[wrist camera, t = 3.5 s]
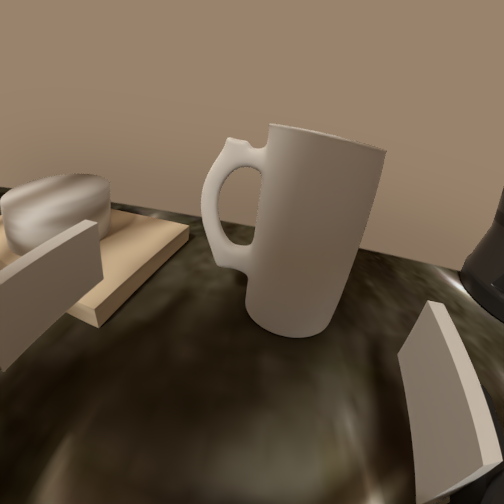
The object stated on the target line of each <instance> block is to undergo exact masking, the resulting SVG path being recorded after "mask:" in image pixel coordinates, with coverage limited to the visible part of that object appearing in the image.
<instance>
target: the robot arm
mask: <svg viewBox="0 0 504 504" xmlns="http://www.w3.org/2000/svg"><path fill="white" fill-rule="evenodd" d="M103 279H104V276H103V268H102V260H101V251H100V241H99V230H98V223H97V222H93V221H89V220H84V221H82V222H80V223H78V224H76V225H74V226H73V227H71V228H69V229H67V230H65V231H64V232H62V233H60V234H58V235H57V236H55V237H53V238H51V239H50V240H48V241H46V242H45V243H43V244H41V245H40V246H38V247H36V248H35V249H33V250H31V251H30V252H28V253H27V254H25V255H23V256H22V257H20V258H19V259H17V260H16V261H14V262H12V263H11V264H9V265H8V266H6V267H5V268H3V269H2V270H0V369H1V370H2V371H3V372H5V371H6V369H7V368H8V367H9V366H10V365H11V364H12V363H13V362H14V361H15V360H16V359H17V358H18V357H19V356H20V355H21V354H22V353H23V352H24V351H25V350H26V349H27V348H28V347H29V346H30V345H31V344H32V343H33V342H34V341H35V340H36V339H37V338H38V337H39V336H41V335H42V334H43V333H44V332H45V331H46V330H47V329H48V328H49V327H50V326H51V325H52V324H53V323H54V322H55V321H57V320H58V319H59V318H60V317H61V316H62V315H63V314H64V313H65V312H66V311H67V310H69V309H70V308H71V307H72V306H73V305H74V304H75V303H76V302H78V301H79V300H80V299H81V298H82V297H83V296H84V295H86V294H87V293H88V292H89V291H90V290H91V289H93V288H94V287H95V286H96V285H97V284H98V283H100V282H101V281H102V280H103ZM460 279H461V281H462V283H463V285H464V286H465V288H466V289H467V290H468V292H469V293H470V294H471V295H472V296H473V297H474V298H475V299H476V300H477V301H478V302H479V303H480V304H481V305H482V306H483V307H484V308H485V309H487V310H488V311H489V312H490V313H492V314H493V315H494V316H496V317H497V318H498V319H500V320H501V321H503V322H504V188H503V192H502V196H501V199H500V202H499V205H498V209H497V212H496V215H495V218H494V221H493V223H492V226H491V227H490V229H489V230H488V231H487V233H486V234H485V236H484V237H483V238H482V240H481V241H480V242H479V244H478V245H477V246H476V248H475V249H474V251H473V252H472V254H470V255H469V256H468V257H467V259H466V261H465V263H464V265H463V267H462V270H461V272H460ZM398 359H399V364H400V368H401V373H402V378H403V384H404V389H405V395H406V401H407V407H408V413H409V420H410V428H411V436H412V444H413V454H414V466H415V482H416V504H434V503H438V502H440V501H441V500H443V499H445V498H447V497H449V496H450V502H449V503H447V504H504V435H503V432H502V428H501V425H500V423H498V421H499V419H498V415H497V412H495V410H496V409H495V406H494V404H493V401H492V398H491V396H490V395H489V393H488V392H487V390H486V389H485V388H484V386H483V385H480V383H479V380H478V378H477V375H476V373H475V370H474V368H473V365H472V363H471V361H470V358H469V356H468V354H467V351H466V349H465V347H464V345H463V343H462V340H461V338H460V336H459V334H458V332H457V330H456V328H455V326H454V324H453V322H452V320H451V318H450V316H449V314H448V312H447V310H446V308H445V306H444V304H442V303H437V302H433V301H428V300H427V302H426V304H425V306H424V308H423V310H422V312H421V314H420V316H419V318H418V320H417V322H416V323H415V325H414V327H413V329H412V331H411V332H410V334H409V336H408V338H407V339H406V341H405V343H404V345H403V346H402V348H401V350H400V351H399V353H398Z"/></svg>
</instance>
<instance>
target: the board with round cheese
mask: <svg viewBox="0 0 504 504" xmlns="http://www.w3.org/2000/svg"><path fill="white" fill-rule="evenodd" d="M0 205H1V212H2V215H0V270H2V269H3V268H5V267H6V266H8V265H9V264H11V263H12V262H14V261H16V260H17V259H19V258H20V257H22V256H23V255H25V254H27V253H28V252H30V251H31V250H33V249H35V248H36V247H38V246H40V245H41V244H43V243H45V242H46V241H48V240H50V239H51V238H53V237H55V236H57V235H58V234H60V233H62V232H64V231H65V230H67V229H69V228H71V227H73V226H74V225H76V224H78V223H80V222H82V221H84V220H89V221H93V222H97V223H98V230H99V241H100V251H101V260H102V268H103V276H104V279H103V280H102V281H101V282H100V283H98V284H97V285H96V286H95V287H94V288H93V289H91V290H90V291H89V292H88V293H87V294H86V295H84V296H83V297H82V298H81V299H80V300H79V301H78V302H76V303H75V304H74V305H73V306H72V307H71V308H70V309H69V310H67V311H66V312H67V313H69V314H71V315H72V316H74V317H76V318H78V319H80V320H82V321H84V322H87V323H89V324H91V325H93V326H95V327H97V328H100V326H101V325H102V324H103V323H104V322H105V321H106V320H107V319H108V318H109V317H110V316H111V315H112V314H113V313H114V312H115V311H116V310H117V309H118V308H119V307H120V306H121V305H122V304H123V303H124V302H125V301H126V300H127V299H128V298H129V297H130V296H131V295H132V294H133V293H134V292H135V291H136V290H137V289H138V288H139V287H140V286H141V285H142V284H143V283H144V282H145V281H146V280H147V279H148V278H149V277H150V276H151V275H152V274H153V273H154V272H155V271H156V270H157V269H158V268H159V267H160V266H161V265H162V264H163V263H165V262H166V261H167V260H168V259H169V258H170V257H171V256H172V255H173V254H174V253H175V252H176V251H177V250H178V249H179V248H180V247H181V246H183V245H184V244H185V243H186V242H187V241H188V239H189V226H188V225H184V224H179V223H175V222H170V221H166V220H161V219H157V218H152V217H147V216H143V215H138V214H133V213H129V212H124V211H119V210H115V209H110V182H109V180H108V179H106V178H104V177H101V176H97V175H90V174H65V175H57V176H51V177H45V178H40V179H37V180H33V181H30V182H27V183H24V184H22V185H19V186H17V187H15V188H13V189H11V190H10V191H8V192H7V193H5V194H4V195H3V196H2V198H1V200H0Z"/></svg>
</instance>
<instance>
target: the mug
mask: <svg viewBox="0 0 504 504" xmlns="http://www.w3.org/2000/svg"><path fill="white" fill-rule="evenodd" d="M386 152H387V151H386V150H384V149H381V148H378V147H375V146H371V145H368V144H365V143H361V142H358V141H354V140H350V139H346V138H342V137H338V136H334V135H330V134H325V133H321V132H316V131H311V130H307V129H302V128H297V127H291V126H285V125H278V124H269V135H268V142H267V144H266V146H265V147H264V148H260V149H256V148H253V147H252V146H251V145H250V144H249V142H248V141H245V140H238V139H235V138H231V137H228V138H227V140H226V143H225V146H224V148H223V150H222V151H221V153H220V155H219V156H218V158H217V159H216V161H215V162H214V164H213V166H212V167H211V169H210V171H209V173H208V175H207V177H206V180H205V183H204V186H203V190H202V196H201V213H202V220H203V225H204V228H205V232H206V235H207V238H208V241H209V244H210V247H211V250H212V253H213V256H214V259H215V262H216V264H217V265H218V266H220V267H224V268H233V269H236V270H239V271H241V272H243V273H245V274H246V275H247V277H248V284H247V292H246V299H245V305H246V309H247V312H248V314H249V315H250V317H251V318H252V319H253V320H254V321H255V322H256V323H257V324H258V325H259V326H261V327H262V328H264V329H266V330H268V331H270V332H272V333H274V334H277V335H281V336H285V337H292V338H304V337H310V336H313V335H316V334H318V333H320V332H322V331H323V330H324V329H325V328H326V327H327V326H328V324H329V323H330V320H331V318H332V316H333V314H334V311H335V309H336V307H337V305H338V302H339V300H340V297H341V295H342V292H343V290H344V287H345V284H346V282H347V279H348V276H349V273H350V271H351V268H352V265H353V262H354V259H355V257H356V254H357V251H358V248H359V245H360V242H361V239H362V236H363V233H364V230H365V227H366V224H367V221H368V218H369V214H370V211H371V208H372V204H373V201H374V198H375V195H376V191H377V188H378V184H379V180H380V176H381V172H382V168H383V164H384V159H385V154H386ZM240 167H251V168H254V169H256V170H258V171H259V172H260V174H261V176H262V184H261V191H260V199H259V206H258V213H257V221H256V228H255V235H254V239H253V242H252V243H251V244H250V245H248V246H241V245H236V244H233V243H232V242H231V241H230V240H229V239H228V238H227V236H226V235H225V233H224V231H223V229H222V227H221V223H220V218H219V211H218V200H219V194H220V190H221V187H222V185H223V183H224V181H225V180H226V178H227V177H228V176H229V175H230V173H232V172H233V171H234V170H236V169H238V168H240Z"/></svg>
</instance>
